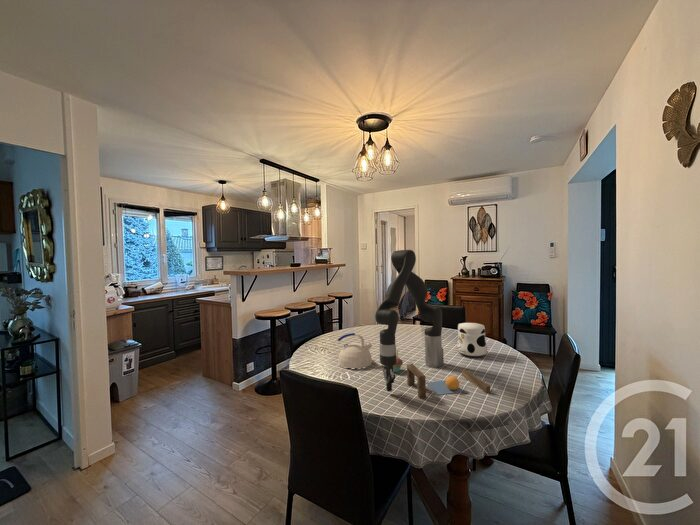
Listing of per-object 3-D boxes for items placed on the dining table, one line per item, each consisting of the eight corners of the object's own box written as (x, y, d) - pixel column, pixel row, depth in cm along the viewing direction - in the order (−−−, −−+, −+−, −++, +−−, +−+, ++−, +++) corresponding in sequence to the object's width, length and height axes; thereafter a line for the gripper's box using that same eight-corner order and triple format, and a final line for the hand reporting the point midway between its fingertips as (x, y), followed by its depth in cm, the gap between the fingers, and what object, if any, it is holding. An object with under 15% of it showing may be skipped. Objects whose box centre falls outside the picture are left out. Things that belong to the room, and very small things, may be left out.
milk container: (451, 352, 188) (450, 324, 188) (472, 348, 194) (471, 321, 194) (471, 360, 172) (470, 330, 172) (493, 356, 178) (493, 326, 178)
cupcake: (401, 367, 166) (400, 346, 165) (404, 373, 157) (403, 351, 157) (386, 368, 165) (385, 346, 165) (388, 374, 157) (387, 351, 157)
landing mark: (450, 380, 147) (450, 379, 147) (464, 391, 134) (464, 391, 134) (425, 383, 145) (425, 382, 145) (437, 395, 132) (437, 394, 132)
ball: (453, 372, 140) (441, 377, 140) (458, 376, 134) (446, 382, 134) (458, 384, 140) (447, 389, 140) (463, 389, 134) (451, 394, 134)
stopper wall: (465, 375, 152) (465, 369, 152) (490, 392, 132) (490, 386, 132) (462, 375, 152) (462, 369, 152) (486, 393, 132) (486, 386, 132)
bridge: (413, 383, 145) (412, 363, 144) (426, 397, 130) (425, 375, 130) (407, 384, 144) (406, 364, 144) (419, 398, 129) (418, 376, 129)
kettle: (370, 370, 163) (369, 338, 163) (334, 369, 167) (332, 337, 167) (374, 358, 183) (373, 329, 182) (342, 356, 187) (341, 328, 187)
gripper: (400, 356, 129) (401, 396, 129) (391, 347, 142) (392, 383, 142) (384, 358, 127) (385, 398, 128) (376, 349, 140) (377, 385, 141)
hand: (389, 390), depth 135 cm, fingers closed
